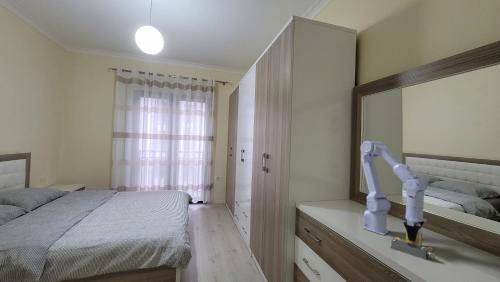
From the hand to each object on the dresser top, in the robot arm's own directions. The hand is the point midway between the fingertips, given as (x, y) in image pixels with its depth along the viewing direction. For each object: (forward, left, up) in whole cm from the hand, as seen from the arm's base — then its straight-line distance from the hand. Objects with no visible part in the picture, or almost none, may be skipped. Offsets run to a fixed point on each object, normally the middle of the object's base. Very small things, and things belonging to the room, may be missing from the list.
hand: (413, 238), depth 90 cm
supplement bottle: (0, 0, -3) cm, 3 cm away
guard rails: (0, -3, -3) cm, 4 cm away
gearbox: (+1, -8, -3) cm, 9 cm away
